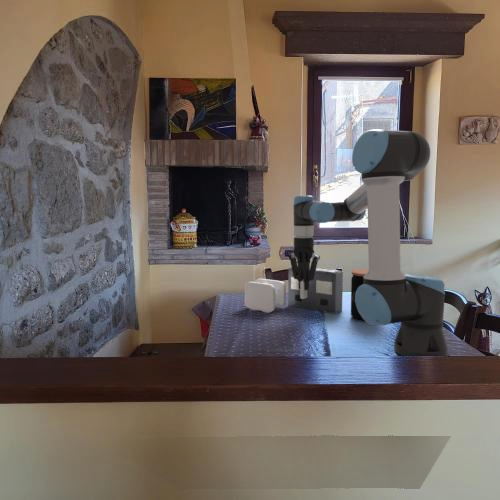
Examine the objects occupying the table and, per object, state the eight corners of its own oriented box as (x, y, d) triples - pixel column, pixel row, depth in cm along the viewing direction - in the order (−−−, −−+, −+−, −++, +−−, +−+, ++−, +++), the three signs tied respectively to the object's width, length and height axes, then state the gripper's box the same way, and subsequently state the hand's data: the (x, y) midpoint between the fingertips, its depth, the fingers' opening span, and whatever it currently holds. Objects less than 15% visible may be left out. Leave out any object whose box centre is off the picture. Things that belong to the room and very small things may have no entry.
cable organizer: (242, 308, 185) (242, 281, 184) (257, 303, 194) (257, 277, 192) (273, 314, 177) (272, 285, 175) (287, 308, 185) (287, 281, 183)
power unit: (334, 313, 176) (335, 273, 174) (287, 305, 189) (287, 267, 187) (342, 310, 181) (342, 270, 179) (295, 302, 194) (296, 265, 192)
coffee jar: (347, 320, 168) (348, 272, 165) (354, 313, 177) (355, 268, 175) (376, 323, 163) (377, 275, 160) (382, 316, 172) (383, 270, 170)
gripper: (323, 236, 167) (323, 298, 170) (294, 235, 175) (294, 294, 178) (313, 238, 162) (313, 302, 164) (283, 236, 169) (284, 297, 172)
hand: (303, 298), depth 171 cm, fingers closed
